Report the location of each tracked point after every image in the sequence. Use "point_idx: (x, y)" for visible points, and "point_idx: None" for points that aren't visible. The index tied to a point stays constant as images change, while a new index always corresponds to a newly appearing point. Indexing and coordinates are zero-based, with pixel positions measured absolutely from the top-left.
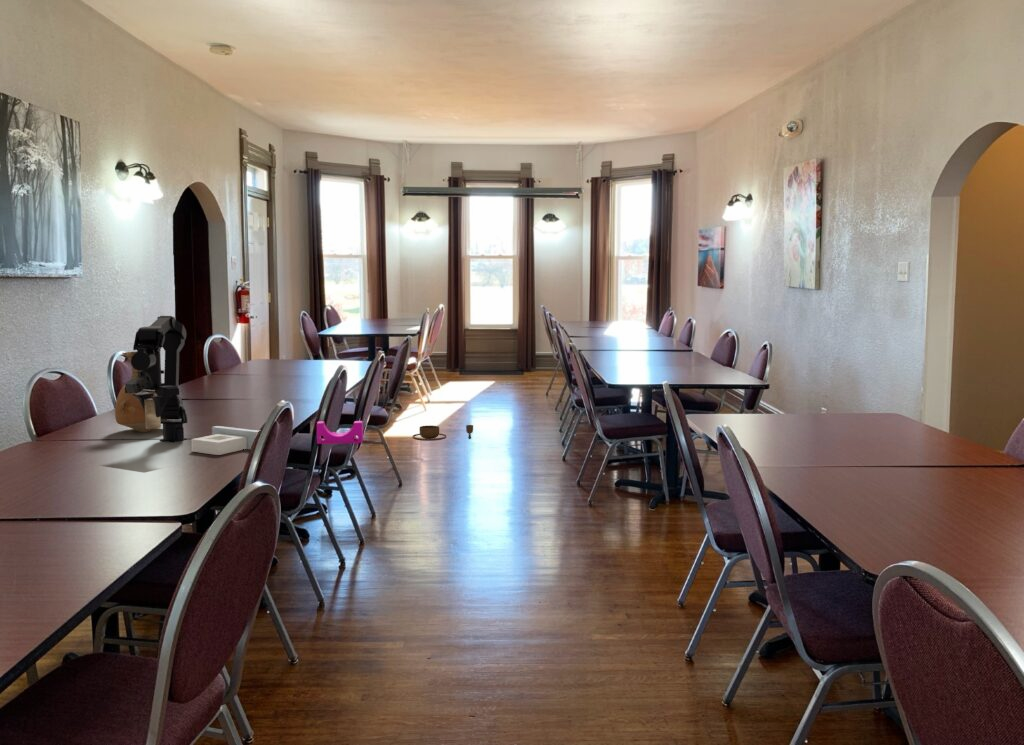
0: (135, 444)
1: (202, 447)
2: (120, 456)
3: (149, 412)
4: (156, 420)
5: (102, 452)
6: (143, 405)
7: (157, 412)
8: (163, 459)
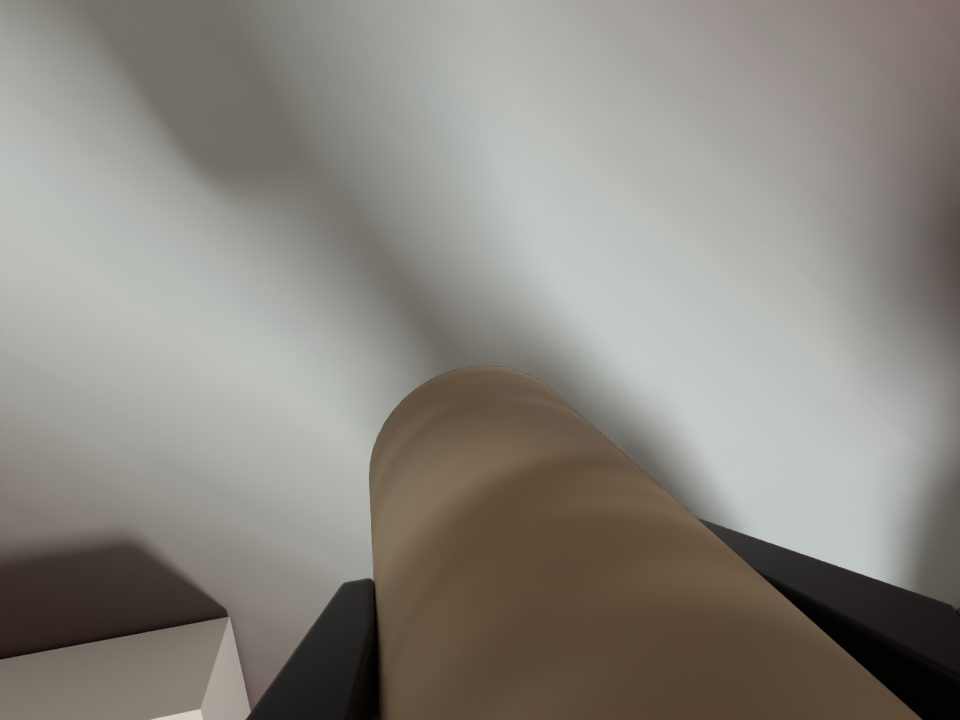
0: (888, 489)
1: (50, 686)
2: (587, 103)
3: (470, 516)
4: (373, 534)
5: (868, 131)
6: (911, 630)
7: (293, 657)
8: (88, 256)
